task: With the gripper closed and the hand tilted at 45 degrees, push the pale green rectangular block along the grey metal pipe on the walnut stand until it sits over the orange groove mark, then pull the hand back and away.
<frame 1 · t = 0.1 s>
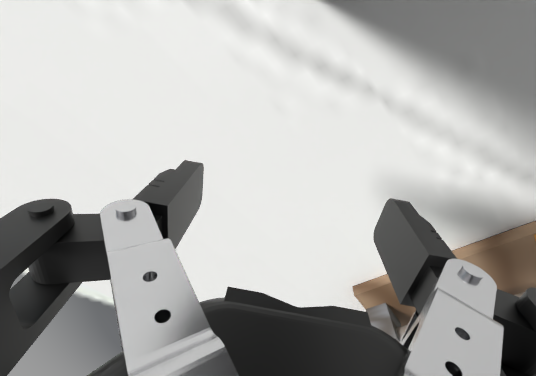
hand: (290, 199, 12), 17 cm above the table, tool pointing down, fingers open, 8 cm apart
pipe stand: (494, 270, 35), on the table
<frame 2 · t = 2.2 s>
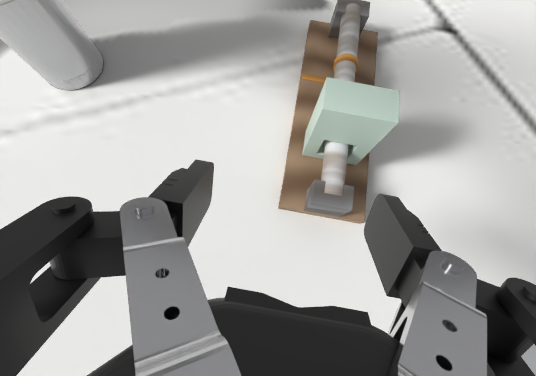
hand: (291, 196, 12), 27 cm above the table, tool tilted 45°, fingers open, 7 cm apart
pale green rectangular block: (343, 127, 34), point 8 cm above the table, slide at -7.0 cm
pipe stand: (331, 114, 44), on the table
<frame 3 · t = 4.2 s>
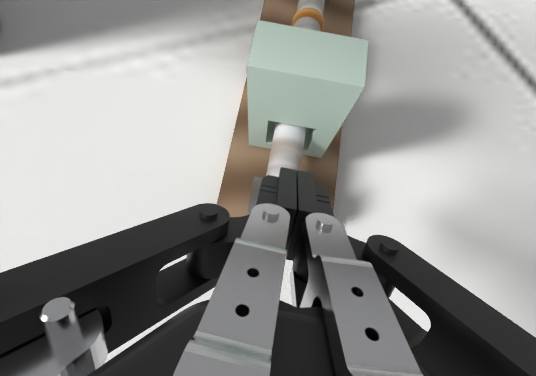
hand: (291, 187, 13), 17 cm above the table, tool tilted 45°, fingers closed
pale green rectangular block: (296, 103, 24), point 8 cm above the table, slide at -7.0 cm
pipe stand: (294, 93, 34), on the table
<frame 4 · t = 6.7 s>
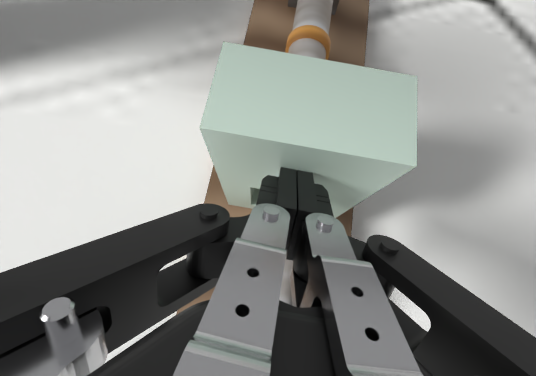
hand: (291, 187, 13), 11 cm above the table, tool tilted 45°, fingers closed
pale green rectangular block: (292, 160, 16), point 8 cm above the table, slide at -5.9 cm, touching gripper
pipe stand: (289, 136, 26), on the table
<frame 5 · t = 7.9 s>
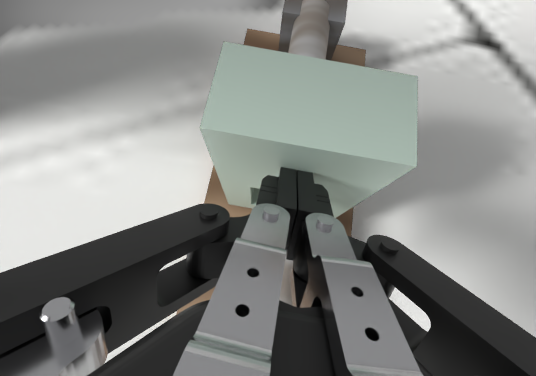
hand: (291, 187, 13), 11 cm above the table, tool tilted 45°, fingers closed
pale green rectangular block: (293, 160, 16), point 8 cm above the table, slide at 1.0 cm, touching gripper
pipe stand: (278, 206, 24), on the table
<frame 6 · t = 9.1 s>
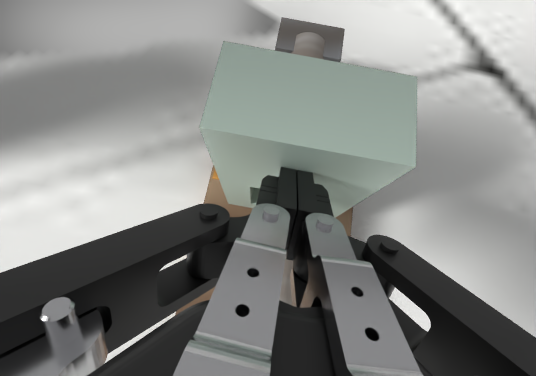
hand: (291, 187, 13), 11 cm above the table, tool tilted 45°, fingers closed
pale green rectangular block: (292, 160, 16), point 8 cm above the table, slide at 4.6 cm, touching gripper
pipe stand: (271, 247, 22), on the table
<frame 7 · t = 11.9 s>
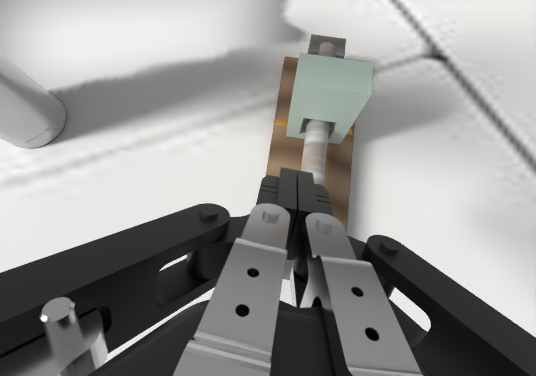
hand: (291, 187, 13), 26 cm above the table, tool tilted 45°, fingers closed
pale green rectangular block: (322, 105, 34), point 8 cm above the table, slide at 4.6 cm
pipe stand: (308, 161, 41), on the table
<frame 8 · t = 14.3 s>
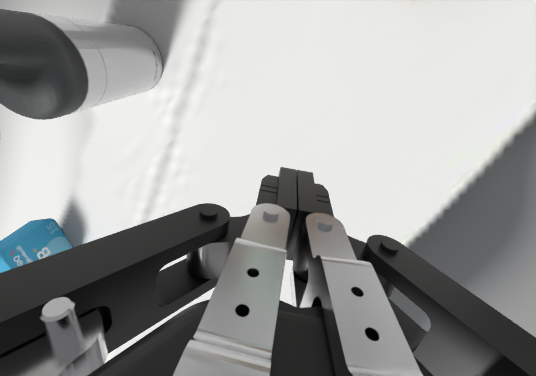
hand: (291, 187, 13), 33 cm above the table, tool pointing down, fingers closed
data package: (59, 238, 61), on the table
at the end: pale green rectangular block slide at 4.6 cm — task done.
